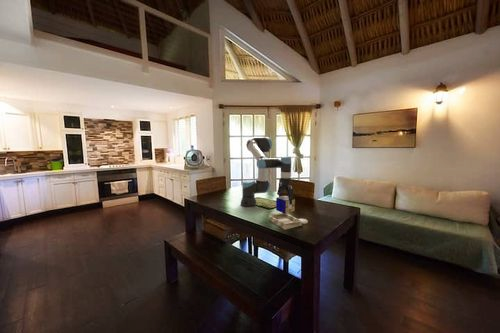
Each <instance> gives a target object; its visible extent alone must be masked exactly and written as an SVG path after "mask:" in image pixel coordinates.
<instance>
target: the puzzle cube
mask: <svg viewBox="0 0 500 333" xmlns="http://www.w3.org/2000/svg"><path fill="white" fill-rule="evenodd" d="M295 199H296V198H295V197H294V200H292V208H291V209H288V200H289V198H288V195H282V197H279V196H278V197H276V198H275V203H276V204H275V210H276V211H277V212H279V213H284V214H289V213H294V212H295V209H296V208H295V206H296V205H295V204H296V200H295Z"/></svg>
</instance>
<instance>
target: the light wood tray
mask: <svg viewBox="0 0 500 333" xmlns="http://www.w3.org/2000/svg"><path fill="white" fill-rule="evenodd" d="M299 219H300V218H296V217H295V216H293V215H291V214H289V213H287V214H284V213H282V212H279V213H275V214H270V215H268V220H269V221H270V222H272V223H274V224H275V225H276V226H278V227H280V228H282V229H283V230H289V229H292V228H297V227H300V226H302V225H303V224H302V221H301V220H299Z"/></svg>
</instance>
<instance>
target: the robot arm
mask: <svg viewBox="0 0 500 333" xmlns="http://www.w3.org/2000/svg"><path fill="white" fill-rule="evenodd" d="M272 148H273V142H272V138H270V137H268V136H253V137H250V138H249V139H248V140H247V142H246V149H247V150H248V151H249V152H250V153H251V154H252V156H253V157H254V159H255V160H256V167H257V178H256V179H255V180H254V179H246V180H244V181H242V185H241V188H242V190H241V191H242V197H241V200H240V206H241V207H245V208H252V207H256V206H257V201H256V197H255V194H257V195H258V194H265V193H269V192H270V189H271V182H270V180H269V178H268V176H267V175H268V169H280V182H278V189H277V192H276V194H277V196H278V197H282V196H283V193H284V192H286V194H287V195H286V196H288V198H289V200H288V209H291V208H292V200H294V198H295V195H294V190H293V189H294V186H293V185H290V184H291V182H292V156H281V157H276V158H275V157H274V158H273V157H272V158H268V156H269V155H268V154H269V152H270V150H272Z"/></svg>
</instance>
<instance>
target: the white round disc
mask: <svg viewBox="0 0 500 333" xmlns="http://www.w3.org/2000/svg"><path fill="white" fill-rule="evenodd" d="M298 219H299V220H301V221H302V225H303V224H304V225H305V224H308V223H309V221H308V220H307V219H306V218H298Z"/></svg>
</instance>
